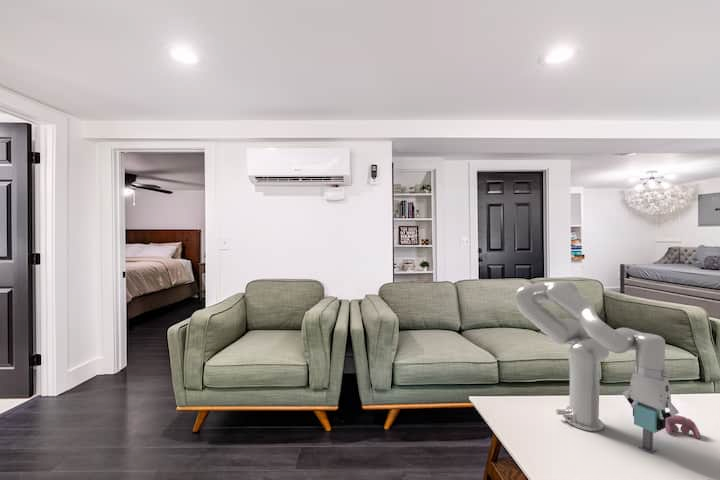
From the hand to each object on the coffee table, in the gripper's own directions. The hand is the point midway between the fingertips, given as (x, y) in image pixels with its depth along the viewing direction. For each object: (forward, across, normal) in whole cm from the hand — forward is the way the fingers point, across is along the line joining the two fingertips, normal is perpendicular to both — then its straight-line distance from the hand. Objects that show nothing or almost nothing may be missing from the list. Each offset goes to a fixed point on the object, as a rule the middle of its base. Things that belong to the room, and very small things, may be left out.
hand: (648, 423), depth 114 cm
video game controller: (+9, 0, -22) cm, 24 cm away
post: (+9, 0, 0) cm, 9 cm away
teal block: (+1, 0, 0) cm, 1 cm away
